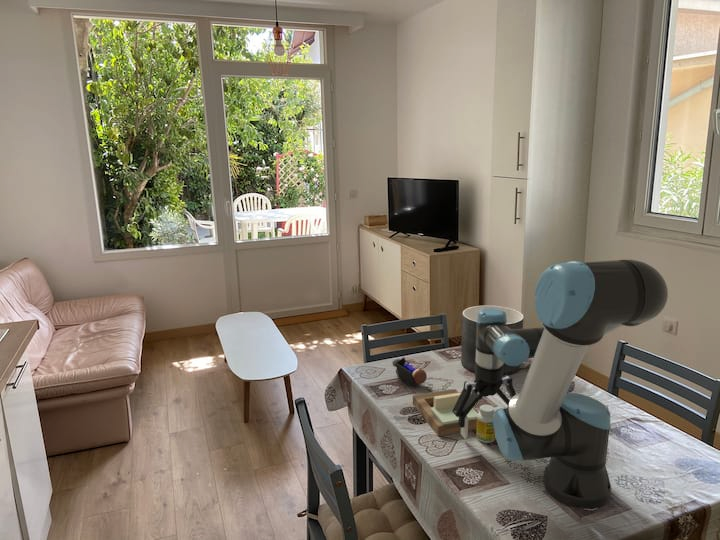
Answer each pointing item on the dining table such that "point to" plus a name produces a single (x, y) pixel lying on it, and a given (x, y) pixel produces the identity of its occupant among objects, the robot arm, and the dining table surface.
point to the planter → (470, 335)
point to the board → (423, 406)
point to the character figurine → (409, 372)
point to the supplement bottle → (485, 424)
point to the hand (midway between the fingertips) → (485, 432)
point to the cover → (449, 409)
